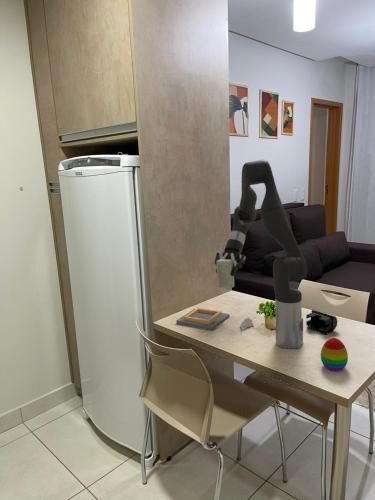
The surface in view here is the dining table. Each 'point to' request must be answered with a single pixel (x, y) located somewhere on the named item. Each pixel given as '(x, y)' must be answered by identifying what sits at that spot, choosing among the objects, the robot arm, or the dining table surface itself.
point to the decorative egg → (334, 355)
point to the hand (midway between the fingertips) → (224, 274)
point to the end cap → (321, 322)
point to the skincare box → (225, 273)
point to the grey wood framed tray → (203, 318)
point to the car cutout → (246, 323)
